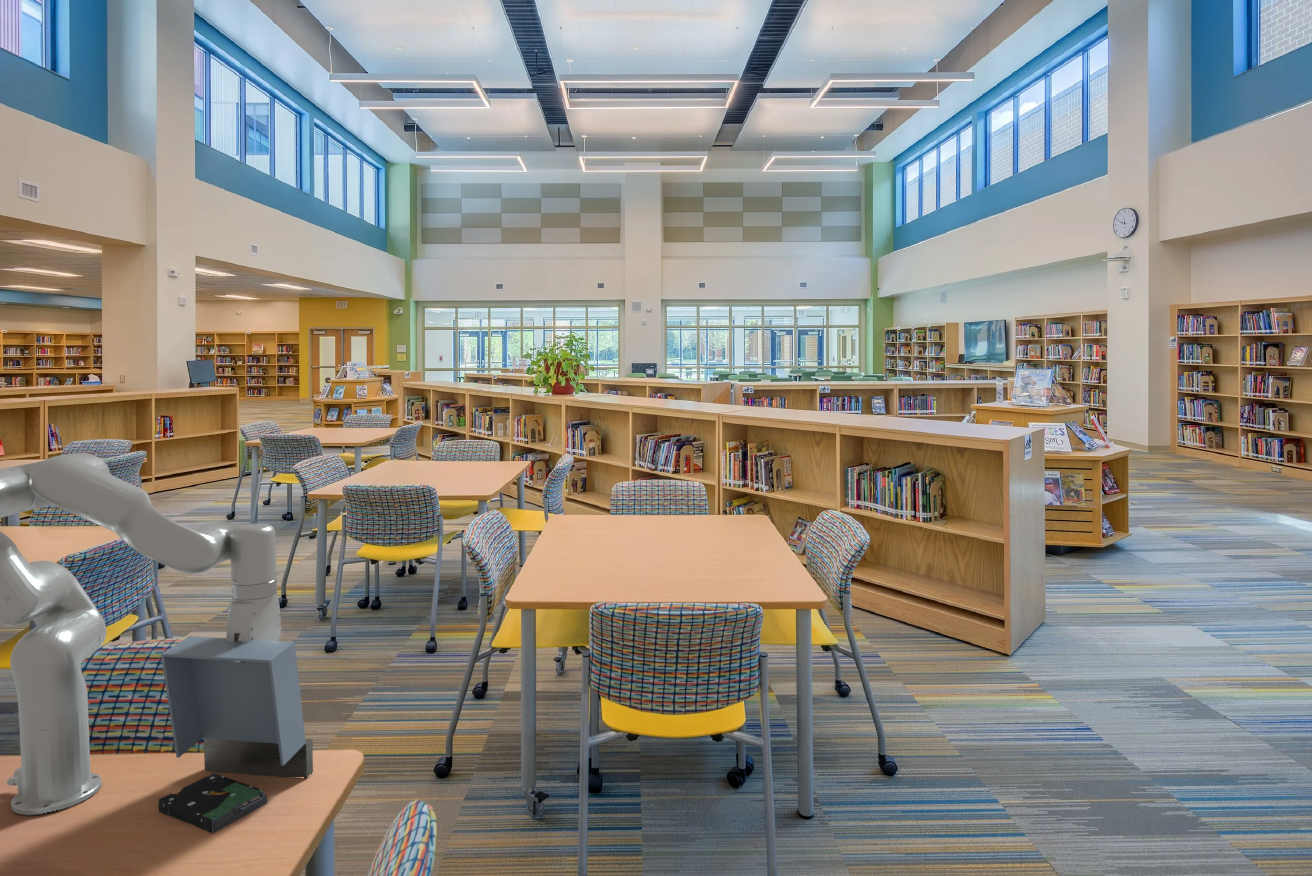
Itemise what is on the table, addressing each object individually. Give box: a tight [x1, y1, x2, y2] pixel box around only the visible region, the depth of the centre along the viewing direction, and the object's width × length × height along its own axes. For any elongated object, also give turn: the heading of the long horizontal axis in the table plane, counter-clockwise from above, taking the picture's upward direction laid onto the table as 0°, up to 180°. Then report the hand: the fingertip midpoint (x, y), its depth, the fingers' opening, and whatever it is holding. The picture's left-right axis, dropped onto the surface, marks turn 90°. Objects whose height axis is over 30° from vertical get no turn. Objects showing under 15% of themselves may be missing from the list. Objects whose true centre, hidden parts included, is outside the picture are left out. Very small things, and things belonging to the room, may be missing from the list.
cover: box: [160, 635, 306, 766], centre depth 133 cm, size 21×20×7 cm
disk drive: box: [157, 772, 268, 834], centre depth 129 cm, size 10×3×15 cm
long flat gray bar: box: [203, 738, 314, 778], centre depth 140 cm, size 21×2×7 cm, turn 83°
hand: (257, 684), depth 139 cm, fingers closed
